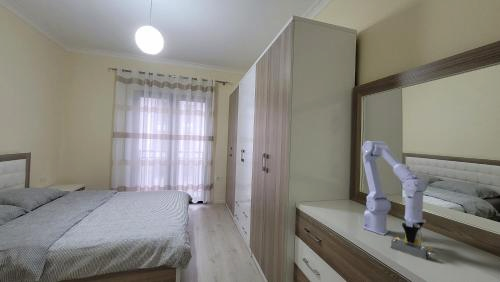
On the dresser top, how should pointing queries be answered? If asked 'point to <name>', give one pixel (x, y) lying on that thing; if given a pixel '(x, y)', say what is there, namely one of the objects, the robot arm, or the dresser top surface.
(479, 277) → the dresser top surface
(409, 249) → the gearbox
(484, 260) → the dresser top surface
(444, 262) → the dresser top surface
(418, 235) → the supplement bottle
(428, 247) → the guard rails
